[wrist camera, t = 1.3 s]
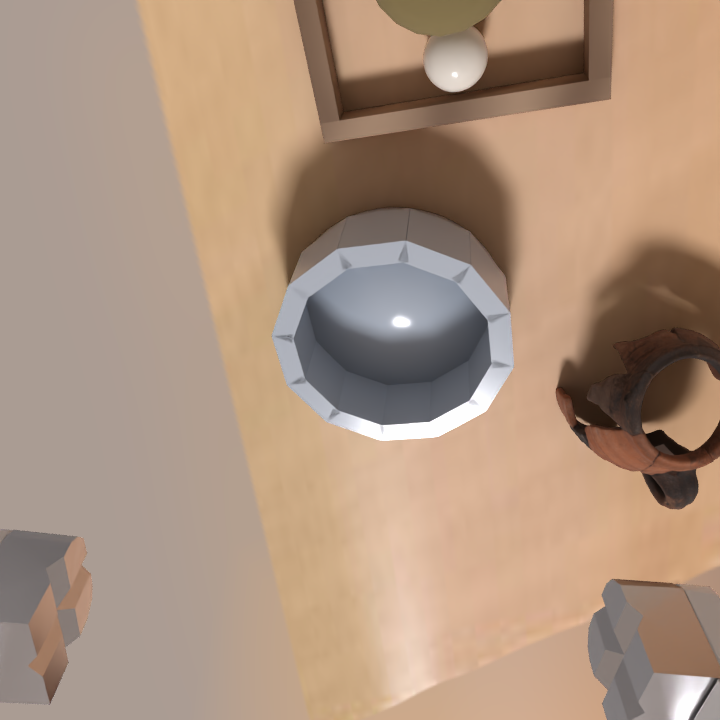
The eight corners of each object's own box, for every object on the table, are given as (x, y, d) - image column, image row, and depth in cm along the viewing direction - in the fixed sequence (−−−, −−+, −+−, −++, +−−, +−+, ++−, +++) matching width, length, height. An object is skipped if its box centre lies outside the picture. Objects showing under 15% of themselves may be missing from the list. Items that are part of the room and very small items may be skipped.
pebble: (484, 11, 31) (486, 22, 29) (489, 77, 33) (491, 93, 31) (420, 22, 32) (417, 35, 30) (428, 87, 34) (426, 104, 31)
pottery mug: (522, 357, 43) (587, 384, 35) (645, 286, 44) (735, 297, 36) (593, 506, 46) (668, 562, 38) (707, 438, 47) (804, 478, 39)
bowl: (499, 190, 36) (504, 228, 33) (512, 382, 44) (518, 431, 40) (268, 221, 39) (247, 259, 35) (317, 397, 46) (305, 445, 43)
